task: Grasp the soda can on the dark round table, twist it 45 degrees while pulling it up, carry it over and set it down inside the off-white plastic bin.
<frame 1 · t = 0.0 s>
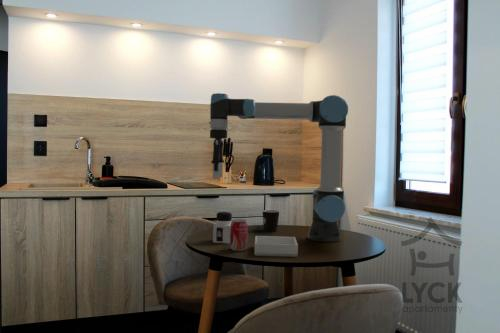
hand: (217, 178, 200), 28 cm above the table, fingers open, 13 cm apart
bin: (275, 251, 184), on the table
soda can: (238, 250, 185), on the table
coffee mug: (270, 230, 233), on the table
container: (223, 241, 201), on the table
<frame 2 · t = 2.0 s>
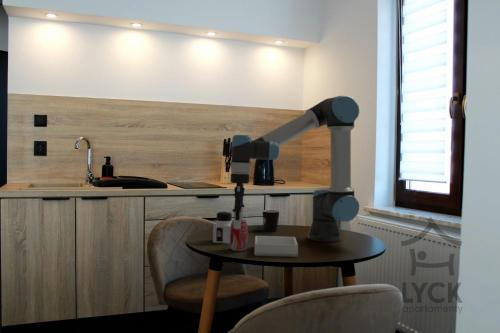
hand: (238, 225, 185), 10 cm above the table, fingers open, 13 cm apart
nothing on the table moved.
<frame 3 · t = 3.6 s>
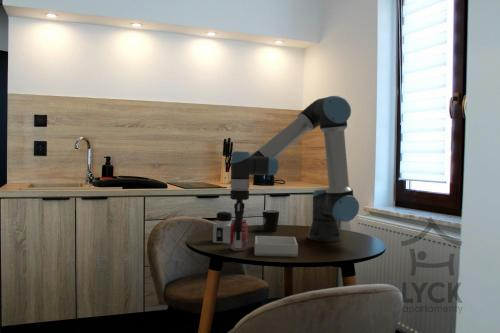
hand: (238, 245, 185), 2 cm above the table, fingers closed on soda can, 7 cm apart
soda can: (238, 250, 185), on the table, touching gripper
everything else where it was.
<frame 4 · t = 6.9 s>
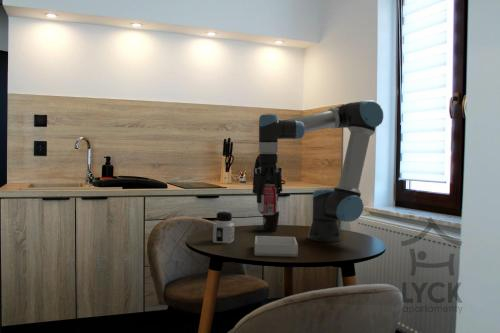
hand: (267, 210, 184), 16 cm above the table, fingers closed on soda can, 7 cm apart
soda can: (267, 214, 184), point 15 cm above the table, touching gripper
everything else where it was.
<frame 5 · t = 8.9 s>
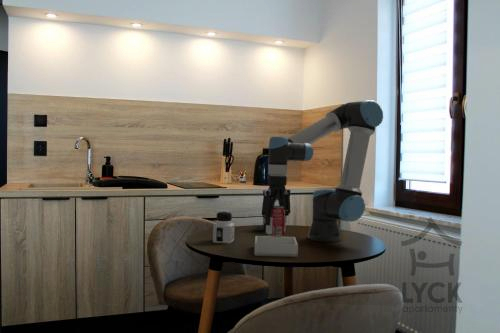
hand: (275, 232, 183), 8 cm above the table, fingers closed on soda can, 7 cm apart
soda can: (275, 236, 183), point 6 cm above the table, touching gripper
everything else where it was.
when the fingers open (5 cm above the table, at t = 10.4 s): soda can drops 2 cm, resting on bin.
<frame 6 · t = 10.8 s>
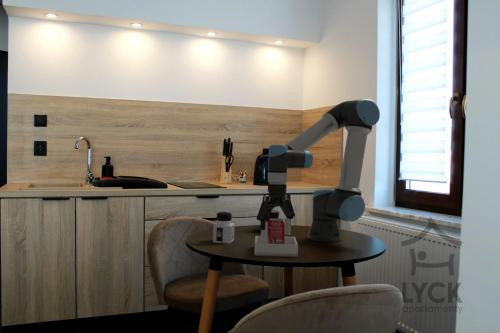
hand: (275, 236, 183), 6 cm above the table, fingers open, 13 cm apart
soda can: (275, 249, 184), point 1 cm above the table, touching bin
everything else where it was.
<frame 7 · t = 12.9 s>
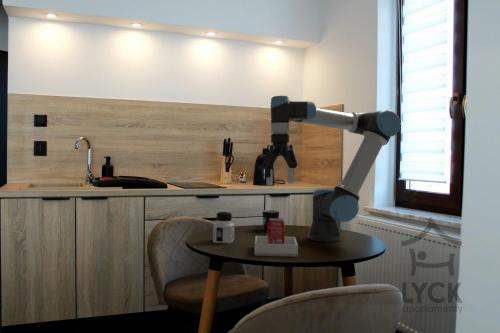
hand: (280, 184, 191), 26 cm above the table, fingers open, 13 cm apart
nothing on the table moved.
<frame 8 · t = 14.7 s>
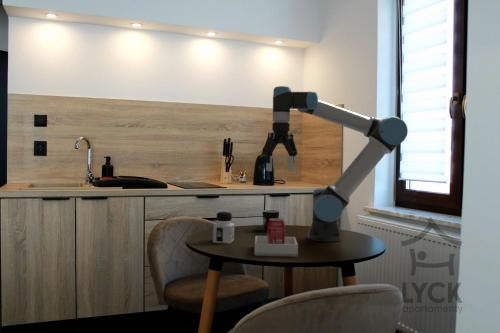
hand: (279, 170, 201), 32 cm above the table, fingers open, 13 cm apart
nothing on the table moved.
at the end: soda can inside the target area on the bin (0.0 cm from its centre), point 0.8 cm above the bin's base; soda can tilted 0°; the gripper is holding nothing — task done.
